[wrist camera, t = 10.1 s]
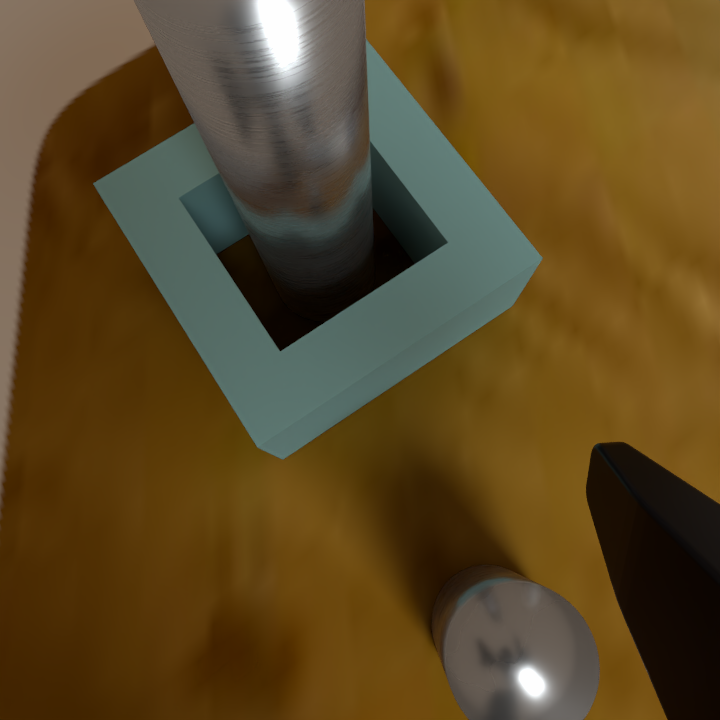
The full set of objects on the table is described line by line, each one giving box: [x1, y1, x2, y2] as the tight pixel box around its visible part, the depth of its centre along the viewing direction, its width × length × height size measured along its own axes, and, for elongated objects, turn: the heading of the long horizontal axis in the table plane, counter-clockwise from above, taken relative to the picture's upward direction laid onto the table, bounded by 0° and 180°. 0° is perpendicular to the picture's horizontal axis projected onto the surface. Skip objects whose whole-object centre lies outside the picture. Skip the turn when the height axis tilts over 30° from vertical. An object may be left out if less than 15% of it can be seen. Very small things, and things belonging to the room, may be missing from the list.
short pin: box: [431, 565, 600, 720], centre depth 16 cm, size 3×3×4 cm
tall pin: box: [134, 0, 375, 322], centre depth 15 cm, size 3×3×13 cm
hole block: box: [93, 40, 543, 459], centre depth 19 cm, size 9×9×4 cm
